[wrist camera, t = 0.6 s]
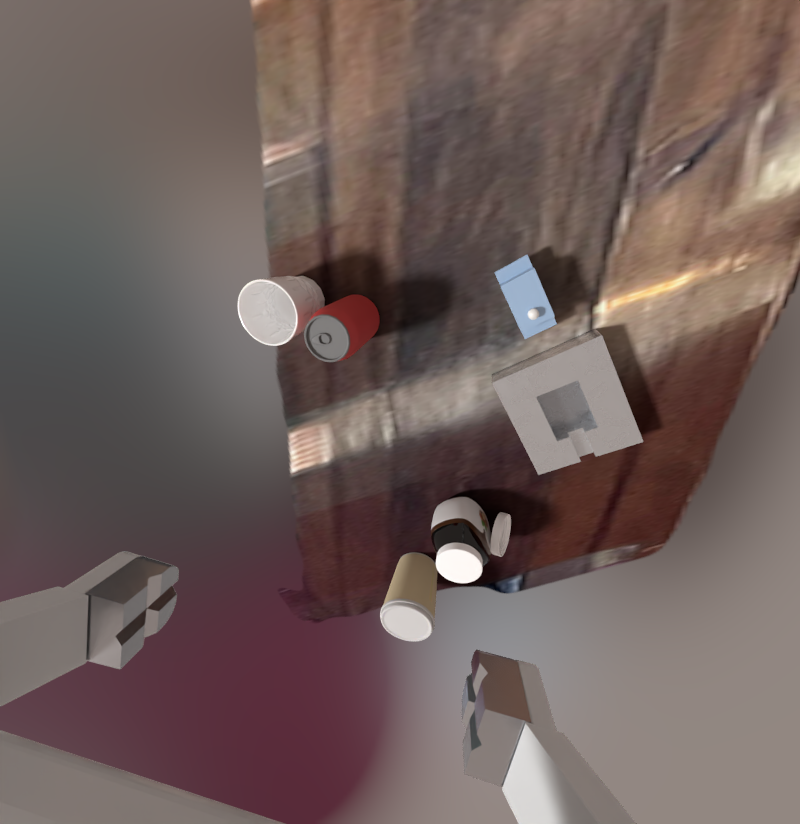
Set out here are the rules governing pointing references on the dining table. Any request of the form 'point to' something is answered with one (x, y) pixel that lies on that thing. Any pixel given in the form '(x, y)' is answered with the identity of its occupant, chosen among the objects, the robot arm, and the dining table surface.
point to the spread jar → (466, 538)
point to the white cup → (278, 307)
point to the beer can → (341, 328)
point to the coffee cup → (411, 598)
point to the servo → (526, 296)
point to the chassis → (567, 403)
